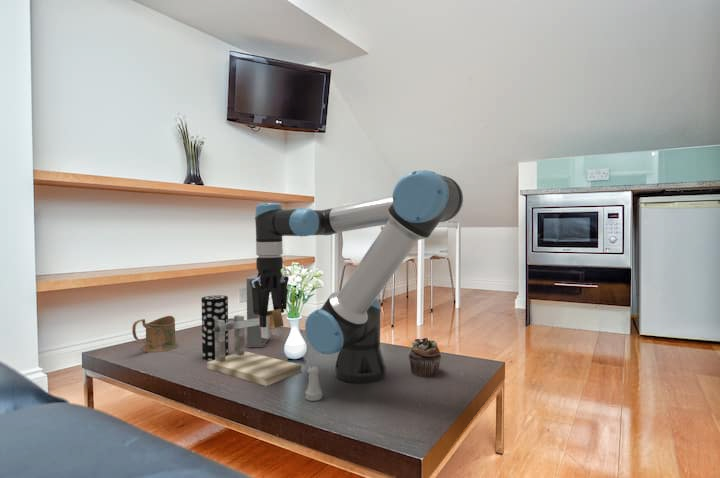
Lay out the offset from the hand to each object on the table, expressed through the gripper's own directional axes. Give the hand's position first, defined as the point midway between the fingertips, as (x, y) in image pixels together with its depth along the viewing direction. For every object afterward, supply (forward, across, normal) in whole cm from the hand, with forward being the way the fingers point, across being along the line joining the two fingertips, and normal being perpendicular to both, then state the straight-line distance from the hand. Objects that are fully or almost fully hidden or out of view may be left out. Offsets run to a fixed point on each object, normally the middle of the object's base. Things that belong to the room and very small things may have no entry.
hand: (271, 336), depth 124 cm
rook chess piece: (+12, +6, +21) cm, 25 cm away
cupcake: (+12, -27, +36) cm, 47 cm away
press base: (+11, 0, -8) cm, 14 cm away
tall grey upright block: (+11, -22, -30) cm, 39 cm away
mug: (+11, +5, -54) cm, 55 cm away
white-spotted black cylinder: (+11, -2, -29) cm, 31 cm away
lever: (-1, 0, -8) cm, 8 cm away
